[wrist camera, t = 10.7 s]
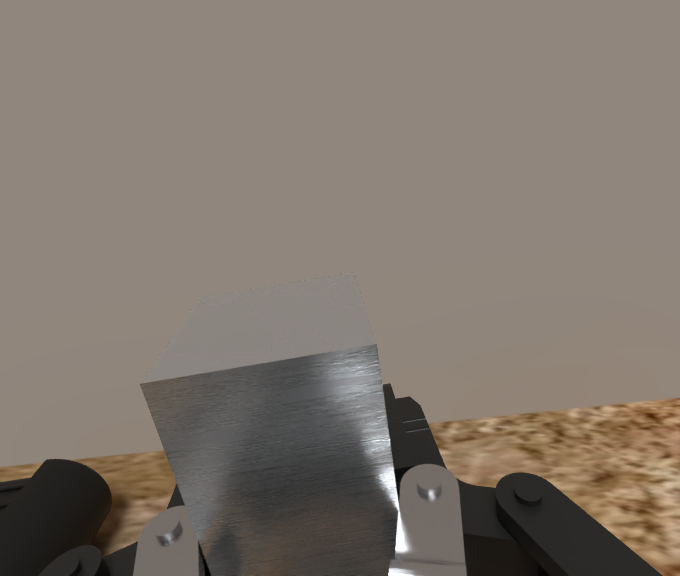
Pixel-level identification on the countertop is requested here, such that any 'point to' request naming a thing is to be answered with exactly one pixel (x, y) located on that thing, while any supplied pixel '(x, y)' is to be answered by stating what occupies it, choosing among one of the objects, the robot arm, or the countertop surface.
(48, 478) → the end cap
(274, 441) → the bracket
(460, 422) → the countertop surface
